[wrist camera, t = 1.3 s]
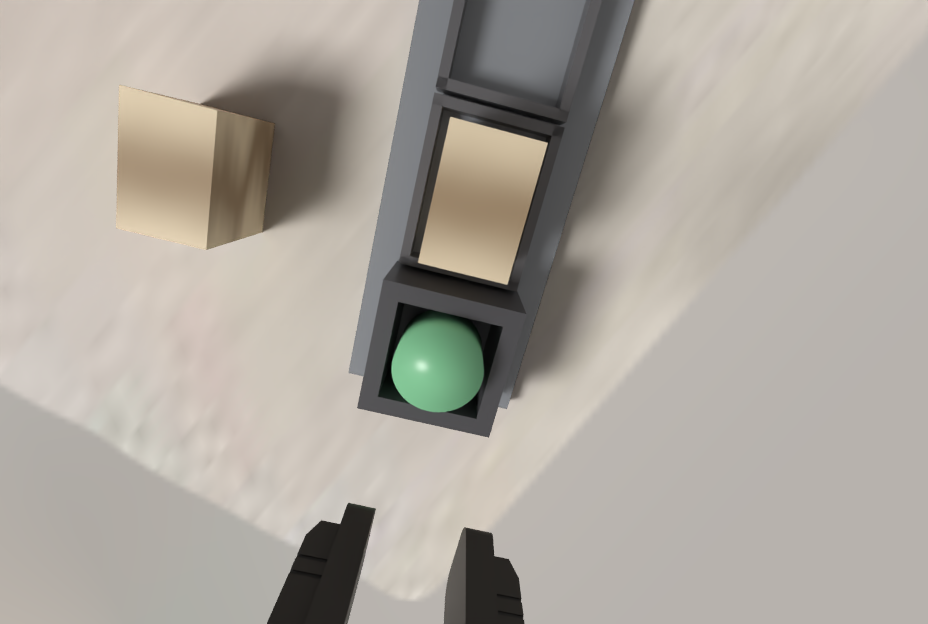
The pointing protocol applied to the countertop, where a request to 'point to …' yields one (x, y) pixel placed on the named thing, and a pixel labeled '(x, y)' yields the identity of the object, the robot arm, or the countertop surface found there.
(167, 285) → the countertop surface
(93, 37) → the countertop surface
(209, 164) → the loose billet
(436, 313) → the button
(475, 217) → the block
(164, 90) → the countertop surface
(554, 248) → the grey compartment tray
